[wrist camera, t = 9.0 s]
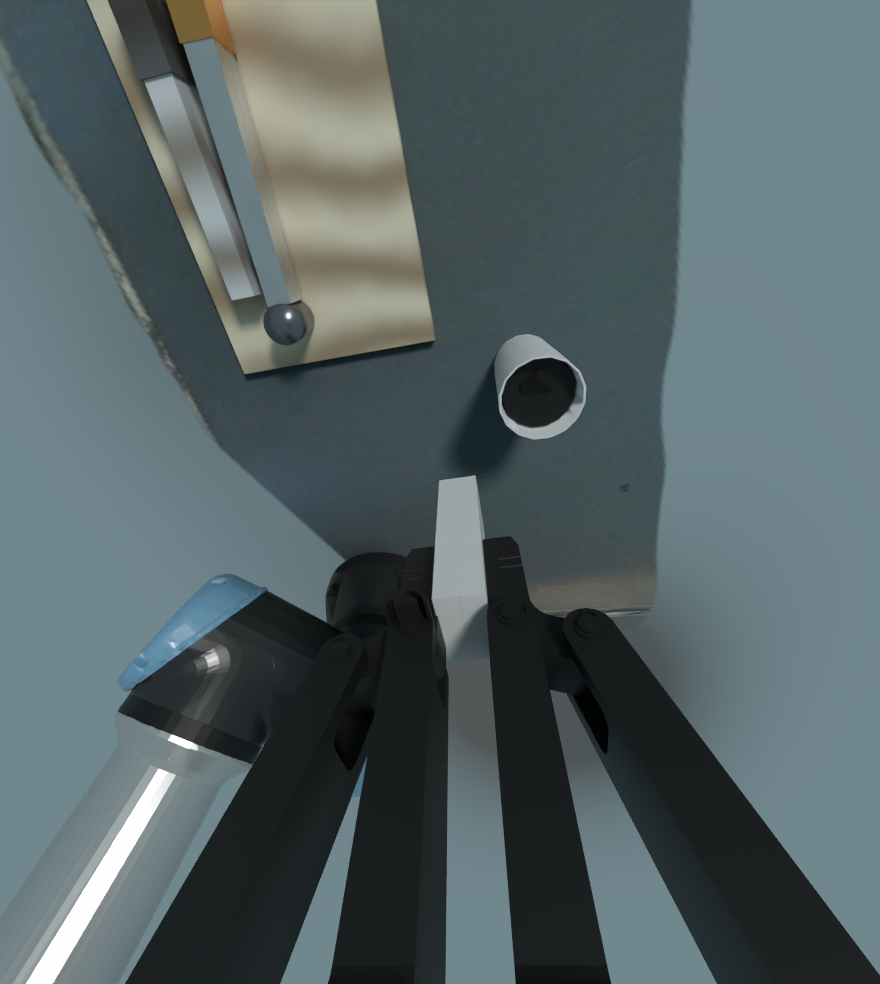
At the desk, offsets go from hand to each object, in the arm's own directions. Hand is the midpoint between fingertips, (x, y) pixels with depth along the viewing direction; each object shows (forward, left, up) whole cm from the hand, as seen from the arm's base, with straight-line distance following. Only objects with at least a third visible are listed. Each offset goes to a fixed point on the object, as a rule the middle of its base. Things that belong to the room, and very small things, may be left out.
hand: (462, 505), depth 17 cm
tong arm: (+16, +13, -25) cm, 33 cm away
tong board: (+15, +11, -26) cm, 33 cm away
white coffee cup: (-2, -6, -27) cm, 27 cm away
